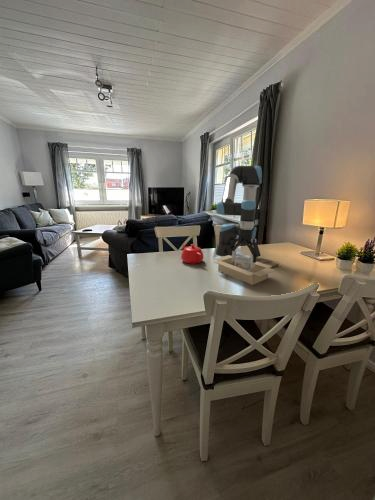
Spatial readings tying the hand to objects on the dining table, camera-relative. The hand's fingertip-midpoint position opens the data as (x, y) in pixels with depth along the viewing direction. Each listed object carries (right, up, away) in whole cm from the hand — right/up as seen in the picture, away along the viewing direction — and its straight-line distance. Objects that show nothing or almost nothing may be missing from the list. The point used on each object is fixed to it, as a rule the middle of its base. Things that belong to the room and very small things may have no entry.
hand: (242, 264), depth 124 cm
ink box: (0, -7, +2) cm, 7 cm away
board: (+19, -2, +19) cm, 27 cm away
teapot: (-30, 0, +24) cm, 38 cm away
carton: (0, -6, +2) cm, 7 cm away
